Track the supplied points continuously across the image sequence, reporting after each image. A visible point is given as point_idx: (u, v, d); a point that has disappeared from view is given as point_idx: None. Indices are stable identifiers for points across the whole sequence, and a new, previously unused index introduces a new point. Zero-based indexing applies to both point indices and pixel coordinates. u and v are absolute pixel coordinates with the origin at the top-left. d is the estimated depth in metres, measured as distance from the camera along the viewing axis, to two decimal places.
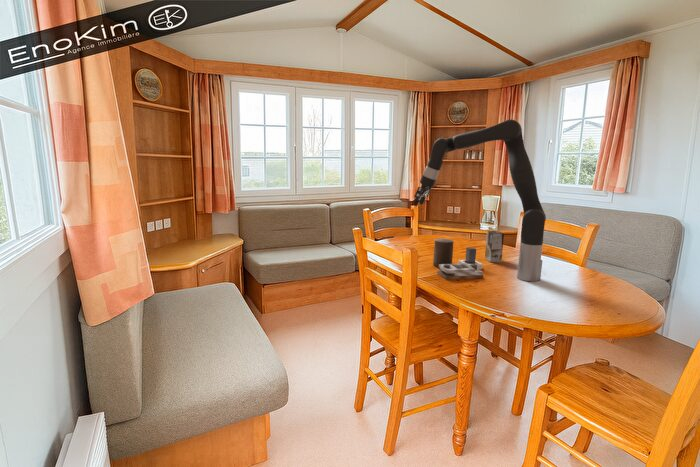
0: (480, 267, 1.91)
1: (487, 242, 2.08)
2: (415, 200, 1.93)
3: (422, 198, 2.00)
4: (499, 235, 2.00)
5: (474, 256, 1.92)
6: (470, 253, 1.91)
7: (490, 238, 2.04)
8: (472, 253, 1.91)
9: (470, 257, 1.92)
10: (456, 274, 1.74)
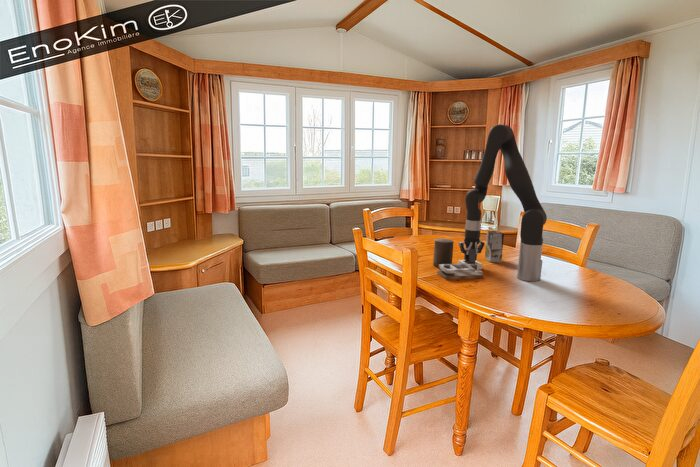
0: (480, 267, 1.91)
1: (487, 242, 2.08)
2: (464, 255, 1.93)
3: None
4: (499, 235, 2.00)
5: (474, 256, 1.92)
6: (470, 252, 1.91)
7: (490, 238, 2.04)
8: (472, 253, 1.91)
9: (470, 257, 1.92)
10: (456, 274, 1.74)
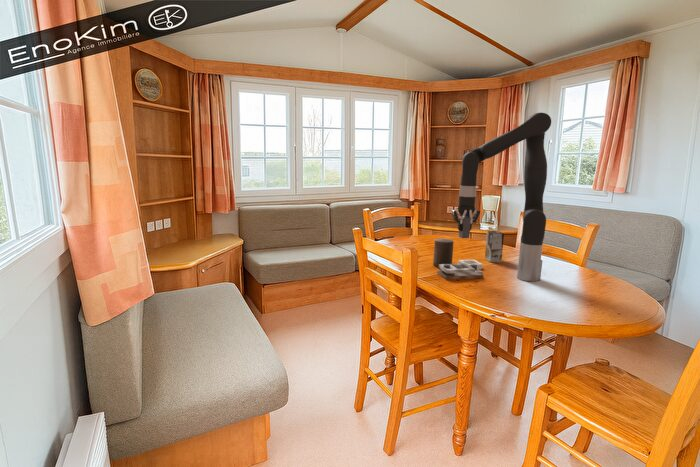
0: (480, 267, 1.91)
1: (487, 242, 2.08)
2: (458, 225, 1.78)
3: None
4: (499, 235, 2.00)
5: (468, 225, 1.77)
6: (464, 221, 1.76)
7: (490, 238, 2.04)
8: (466, 222, 1.76)
9: (464, 226, 1.77)
10: (456, 274, 1.74)
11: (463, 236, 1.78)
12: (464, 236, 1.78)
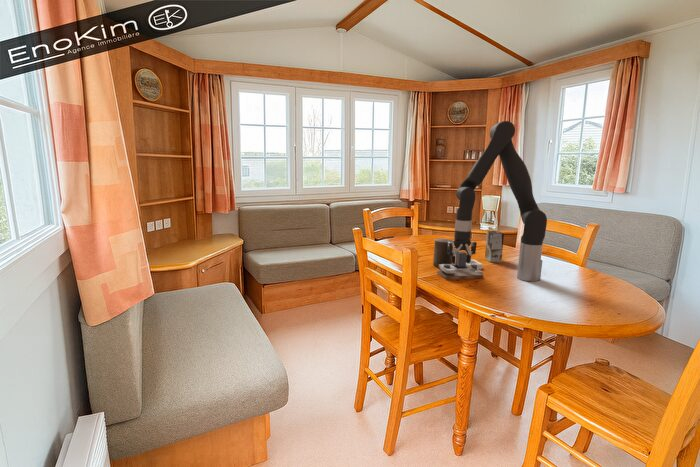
0: (480, 267, 1.91)
1: (487, 242, 2.08)
2: (451, 257, 1.78)
3: (467, 256, 1.79)
4: (499, 235, 2.00)
5: (464, 261, 1.77)
6: (460, 257, 1.76)
7: (490, 238, 2.04)
8: (462, 258, 1.77)
9: (460, 262, 1.77)
10: (456, 274, 1.74)
11: None
12: None
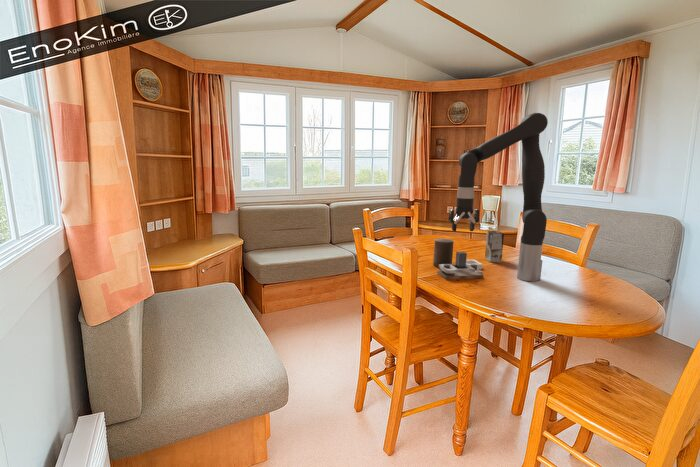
0: (480, 267, 1.91)
1: (487, 242, 2.08)
2: (452, 225, 1.75)
3: (471, 224, 1.76)
4: (499, 235, 2.00)
5: (464, 261, 1.77)
6: (460, 257, 1.76)
7: (490, 238, 2.04)
8: (462, 258, 1.77)
9: (460, 262, 1.77)
10: (456, 274, 1.74)
11: None
12: None
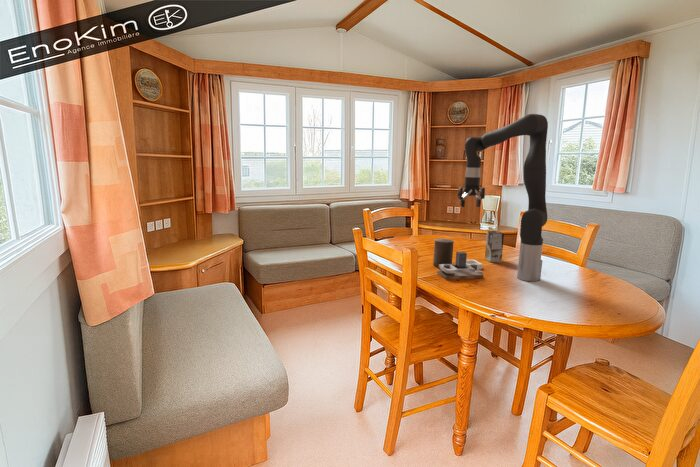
0: (480, 267, 1.91)
1: (487, 242, 2.08)
2: (461, 201, 1.98)
3: (477, 200, 1.99)
4: (499, 235, 2.00)
5: (464, 261, 1.77)
6: (460, 257, 1.76)
7: (490, 238, 2.04)
8: (462, 258, 1.77)
9: (460, 262, 1.77)
10: (456, 274, 1.74)
11: None
12: None
